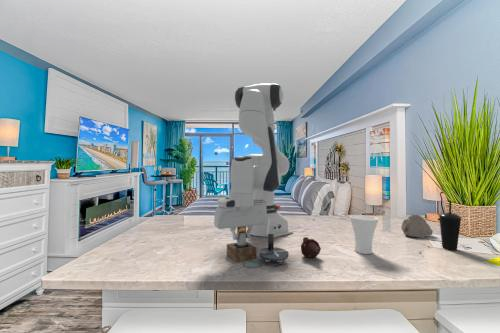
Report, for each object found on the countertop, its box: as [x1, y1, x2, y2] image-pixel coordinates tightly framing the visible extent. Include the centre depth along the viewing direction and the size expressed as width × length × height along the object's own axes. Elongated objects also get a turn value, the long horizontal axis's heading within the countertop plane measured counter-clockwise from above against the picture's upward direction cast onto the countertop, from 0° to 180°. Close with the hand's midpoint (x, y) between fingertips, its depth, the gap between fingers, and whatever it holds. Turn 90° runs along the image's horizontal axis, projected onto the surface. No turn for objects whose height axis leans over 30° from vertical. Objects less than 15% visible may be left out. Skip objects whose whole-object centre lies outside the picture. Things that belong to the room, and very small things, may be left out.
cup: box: [349, 214, 380, 255], centre depth 103 cm, size 10×10×14 cm
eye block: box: [226, 241, 257, 263], centre depth 95 cm, size 8×8×4 cm
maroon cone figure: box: [300, 236, 322, 259], centre depth 95 cm, size 7×7×15 cm
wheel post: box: [264, 259, 284, 266], centre depth 90 cm, size 6×6×1 cm
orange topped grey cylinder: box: [236, 226, 247, 248], centre depth 95 cm, size 3×3×11 cm
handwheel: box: [259, 234, 290, 261], centre depth 90 cm, size 10×10×6 cm
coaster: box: [243, 259, 261, 269], centre depth 87 cm, size 6×6×1 cm
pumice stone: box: [400, 214, 434, 238], centre depth 128 cm, size 15×8×10 cm, turn 98°
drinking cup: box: [438, 200, 463, 252], centre depth 108 cm, size 8×8×20 cm
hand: (241, 238), depth 95 cm, fingers closed on orange topped grey cylinder, 3 cm apart
